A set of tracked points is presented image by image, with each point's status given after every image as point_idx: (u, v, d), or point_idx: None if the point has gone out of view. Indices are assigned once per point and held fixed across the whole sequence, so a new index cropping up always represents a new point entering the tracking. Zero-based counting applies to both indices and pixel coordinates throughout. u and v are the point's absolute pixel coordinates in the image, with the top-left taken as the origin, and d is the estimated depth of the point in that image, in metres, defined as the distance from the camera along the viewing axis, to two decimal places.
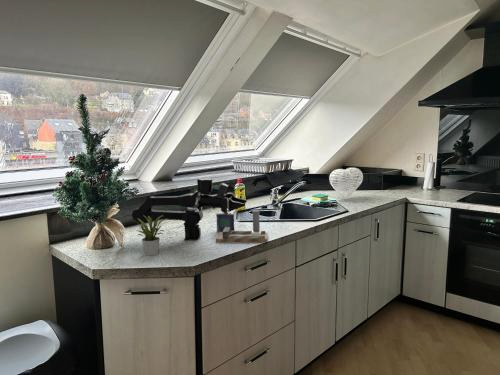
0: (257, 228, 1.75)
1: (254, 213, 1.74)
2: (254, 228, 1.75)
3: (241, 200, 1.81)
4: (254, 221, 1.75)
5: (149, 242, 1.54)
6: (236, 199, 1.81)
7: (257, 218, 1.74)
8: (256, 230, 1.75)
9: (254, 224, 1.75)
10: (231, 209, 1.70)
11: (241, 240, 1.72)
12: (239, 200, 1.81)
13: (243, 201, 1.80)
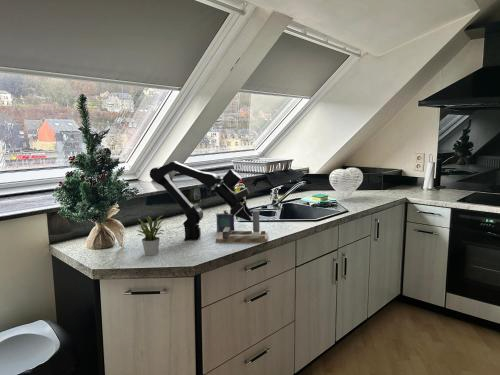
0: (257, 228, 1.75)
1: (254, 213, 1.74)
2: (254, 228, 1.75)
3: (249, 212, 1.80)
4: (254, 221, 1.75)
5: (149, 242, 1.54)
6: (245, 208, 1.80)
7: (257, 218, 1.74)
8: (256, 230, 1.75)
9: (254, 224, 1.75)
10: (238, 215, 1.69)
11: (241, 240, 1.72)
12: (247, 210, 1.80)
13: (249, 214, 1.80)
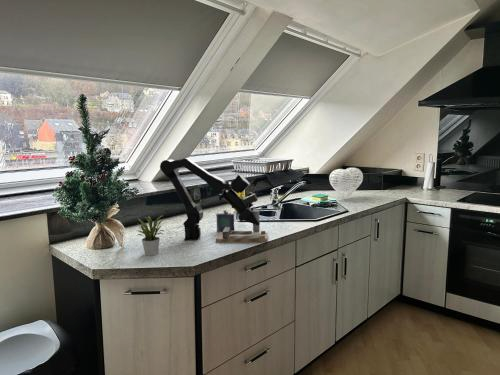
0: (257, 228, 1.75)
1: (254, 213, 1.74)
2: (254, 228, 1.75)
3: None
4: None
5: (149, 242, 1.54)
6: None
7: (257, 218, 1.74)
8: (256, 230, 1.75)
9: (254, 224, 1.75)
10: (246, 220, 1.72)
11: (241, 240, 1.72)
12: None
13: None
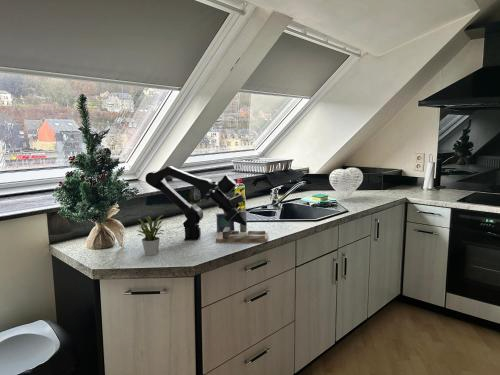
0: (244, 228, 1.75)
1: (241, 213, 1.75)
2: (241, 228, 1.76)
3: None
4: None
5: (149, 242, 1.54)
6: None
7: (244, 218, 1.75)
8: (243, 230, 1.75)
9: (241, 224, 1.75)
10: (233, 220, 1.73)
11: (241, 240, 1.72)
12: None
13: None
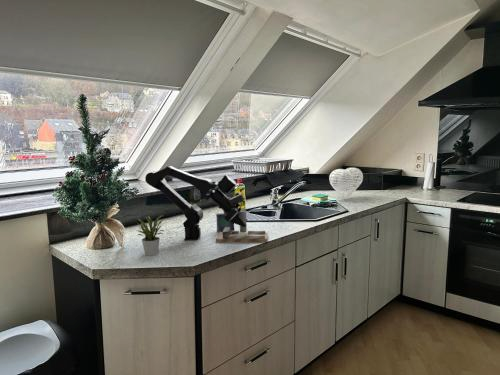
0: (244, 228, 1.75)
1: (241, 213, 1.75)
2: (241, 228, 1.76)
3: None
4: None
5: (149, 242, 1.54)
6: None
7: (244, 218, 1.75)
8: (243, 230, 1.75)
9: None
10: (232, 221, 1.70)
11: (241, 240, 1.72)
12: None
13: None
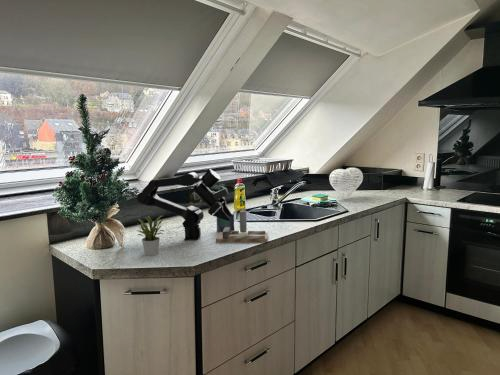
0: (244, 228, 1.75)
1: (241, 213, 1.75)
2: (241, 228, 1.76)
3: (228, 212, 1.81)
4: (241, 221, 1.75)
5: (149, 242, 1.54)
6: (225, 207, 1.81)
7: (244, 218, 1.75)
8: (243, 230, 1.75)
9: (241, 224, 1.75)
10: (216, 215, 1.70)
11: (241, 240, 1.72)
12: (226, 210, 1.81)
13: (229, 214, 1.81)
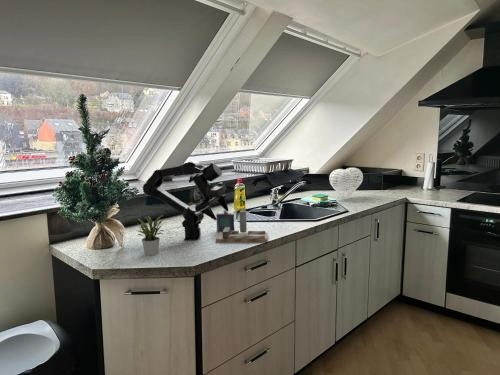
0: (244, 228, 1.75)
1: (241, 213, 1.75)
2: (241, 228, 1.76)
3: (225, 206, 1.79)
4: (241, 221, 1.75)
5: (149, 242, 1.54)
6: (223, 201, 1.78)
7: (244, 218, 1.75)
8: (243, 230, 1.75)
9: (241, 224, 1.75)
10: (203, 212, 1.72)
11: (241, 240, 1.72)
12: (224, 204, 1.79)
13: (225, 208, 1.79)
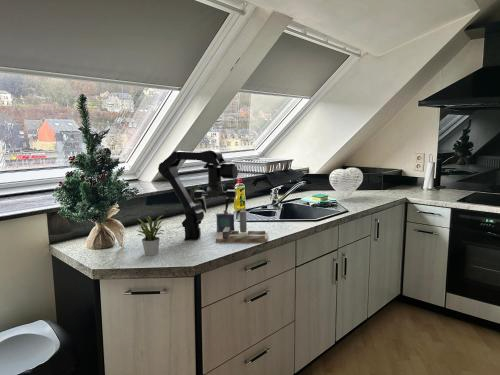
0: (244, 228, 1.75)
1: (241, 213, 1.75)
2: (241, 228, 1.76)
3: None
4: (241, 221, 1.75)
5: (149, 242, 1.54)
6: (226, 202, 1.72)
7: (244, 218, 1.75)
8: (243, 230, 1.75)
9: (241, 224, 1.75)
10: None
11: (241, 240, 1.72)
12: None
13: None
